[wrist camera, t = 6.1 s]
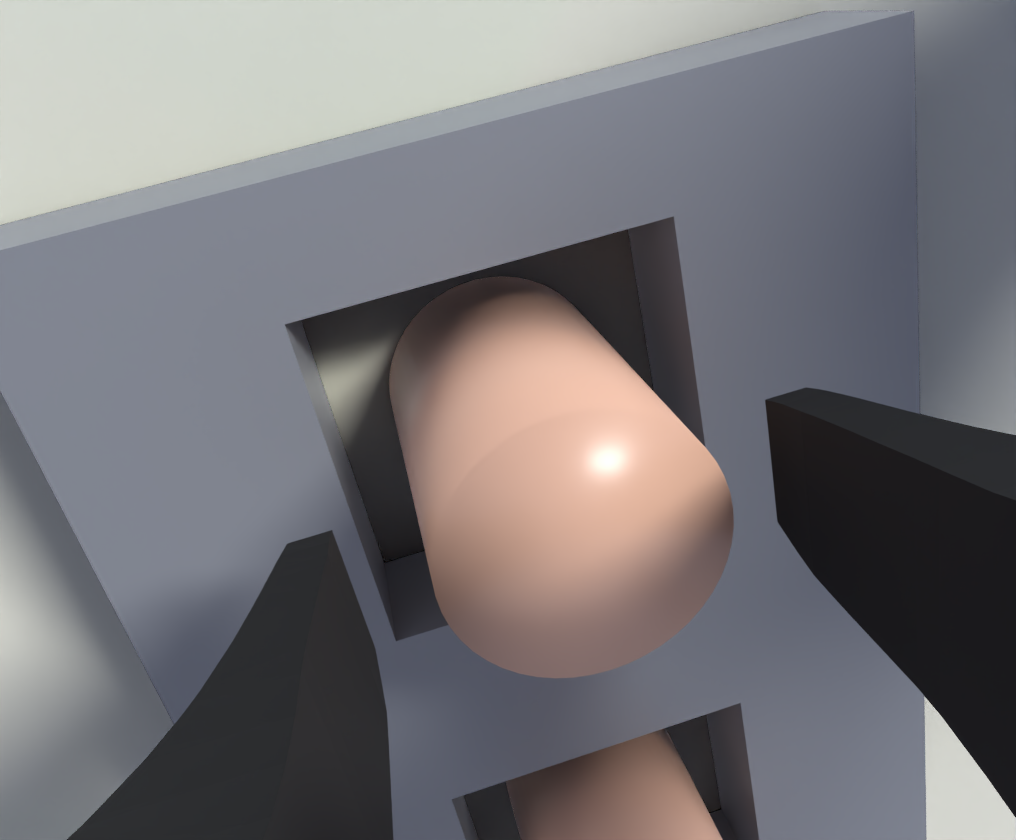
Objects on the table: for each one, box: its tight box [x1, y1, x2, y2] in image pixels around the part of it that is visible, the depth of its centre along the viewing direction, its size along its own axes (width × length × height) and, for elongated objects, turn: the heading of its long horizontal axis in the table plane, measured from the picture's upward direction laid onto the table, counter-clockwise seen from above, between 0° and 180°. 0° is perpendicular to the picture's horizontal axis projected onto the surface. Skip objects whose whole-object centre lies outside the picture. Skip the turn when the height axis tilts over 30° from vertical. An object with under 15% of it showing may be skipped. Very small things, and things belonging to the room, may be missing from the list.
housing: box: [0, 11, 926, 840], centre depth 18 cm, size 20×14×2 cm
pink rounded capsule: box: [389, 276, 734, 678], centre depth 14 cm, size 4×4×6 cm
